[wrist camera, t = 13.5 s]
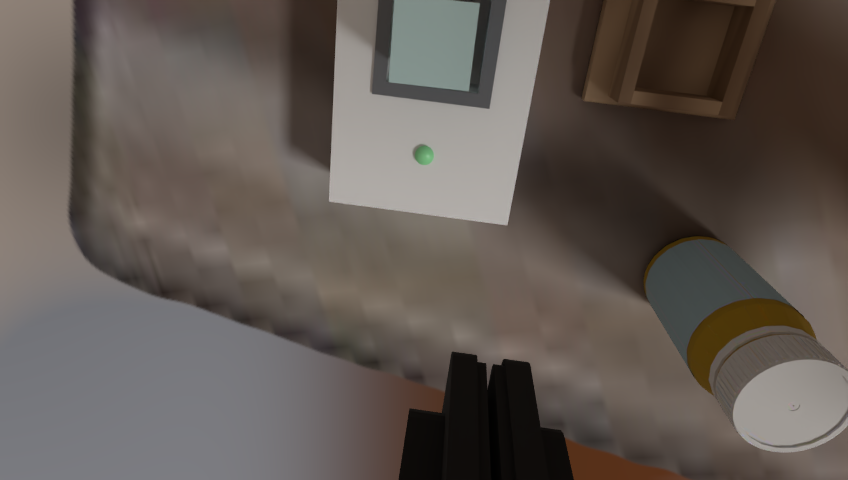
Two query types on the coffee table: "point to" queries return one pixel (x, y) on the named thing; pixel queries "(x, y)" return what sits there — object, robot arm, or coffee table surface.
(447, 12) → the plug
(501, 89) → the panel
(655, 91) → the square wooden tray
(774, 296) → the bottle
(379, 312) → the coffee table surface
